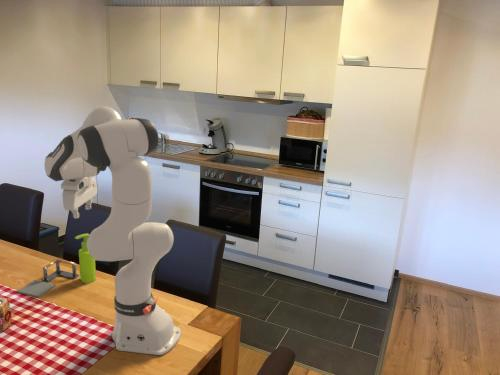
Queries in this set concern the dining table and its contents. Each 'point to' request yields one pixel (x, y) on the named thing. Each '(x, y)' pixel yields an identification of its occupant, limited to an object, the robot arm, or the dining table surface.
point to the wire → (59, 271)
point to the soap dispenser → (86, 262)
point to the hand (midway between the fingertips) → (82, 213)
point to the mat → (36, 288)
